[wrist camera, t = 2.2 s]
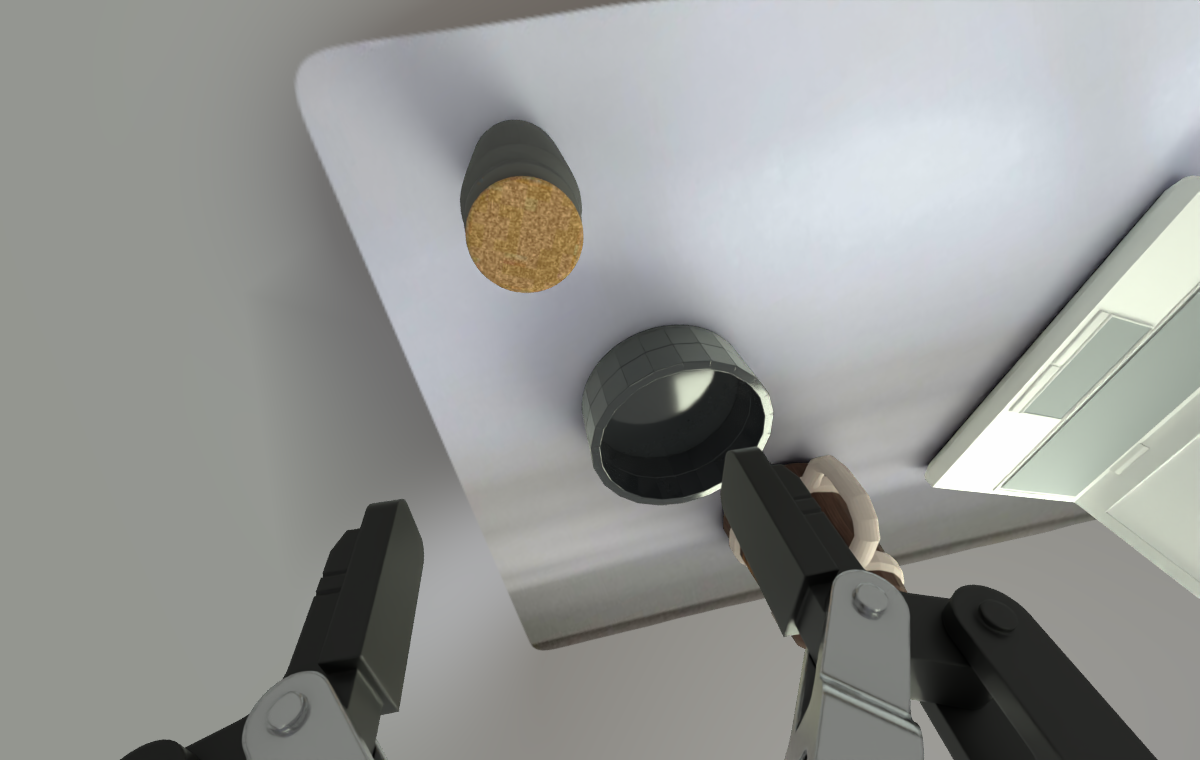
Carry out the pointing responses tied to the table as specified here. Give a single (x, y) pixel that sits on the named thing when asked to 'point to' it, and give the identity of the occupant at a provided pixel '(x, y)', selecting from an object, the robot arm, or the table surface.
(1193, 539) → the laptop
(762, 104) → the table surface
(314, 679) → the robot arm
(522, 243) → the bottle
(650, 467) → the pot
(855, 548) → the mug
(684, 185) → the table surface
